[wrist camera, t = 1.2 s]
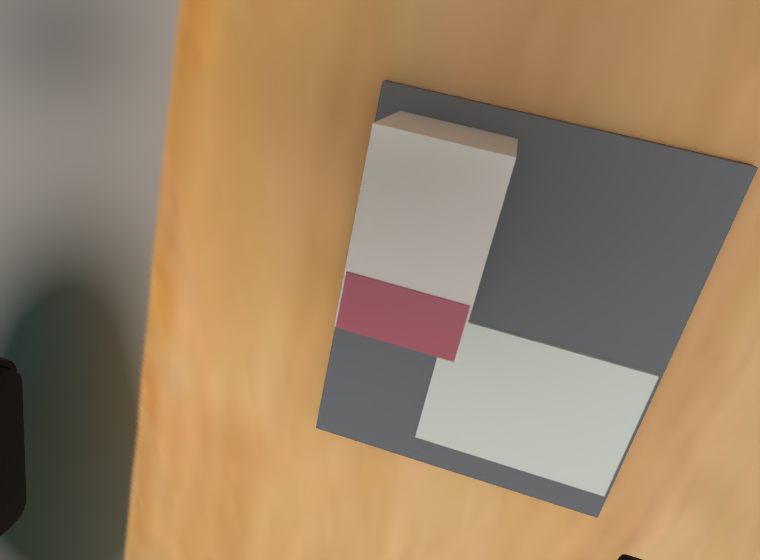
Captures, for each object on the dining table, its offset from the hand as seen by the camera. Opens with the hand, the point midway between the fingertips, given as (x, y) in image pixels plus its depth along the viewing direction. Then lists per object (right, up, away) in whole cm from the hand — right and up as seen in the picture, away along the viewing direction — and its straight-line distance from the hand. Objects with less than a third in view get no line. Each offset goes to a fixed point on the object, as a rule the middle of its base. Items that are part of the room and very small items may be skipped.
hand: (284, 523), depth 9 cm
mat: (+7, +2, +19) cm, 20 cm away
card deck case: (+4, +7, +17) cm, 19 cm away
